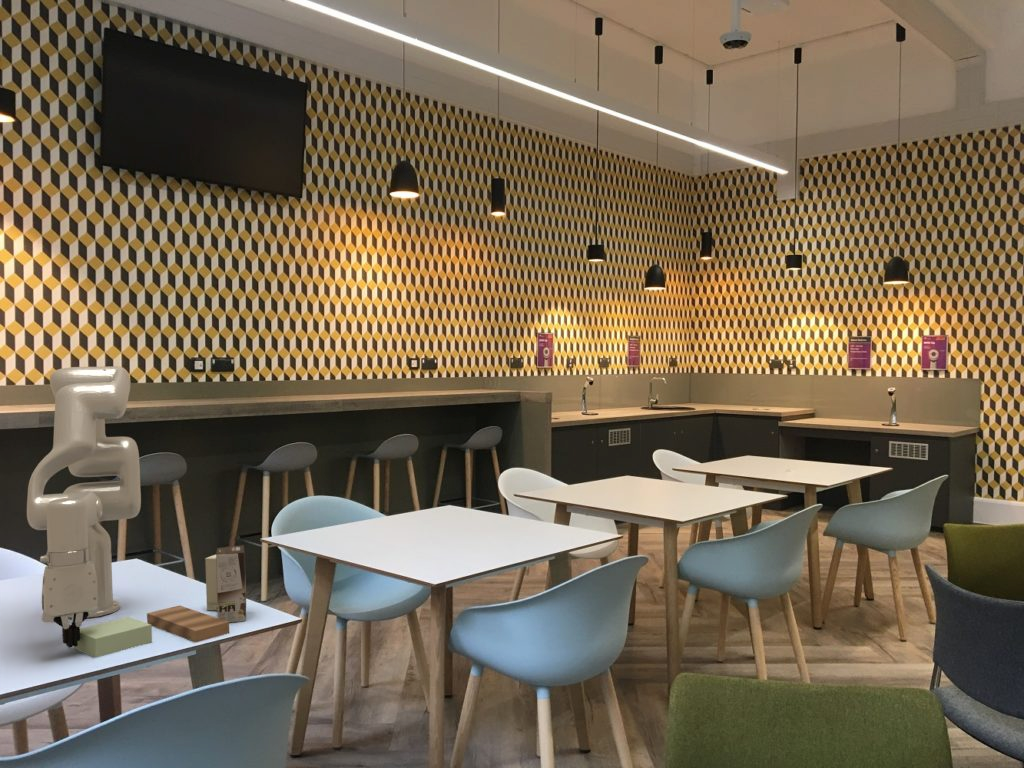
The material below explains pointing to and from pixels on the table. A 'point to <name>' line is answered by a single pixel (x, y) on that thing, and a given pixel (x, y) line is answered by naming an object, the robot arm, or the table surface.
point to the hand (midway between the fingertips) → (71, 645)
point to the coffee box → (231, 583)
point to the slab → (114, 636)
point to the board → (188, 623)
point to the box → (211, 583)
